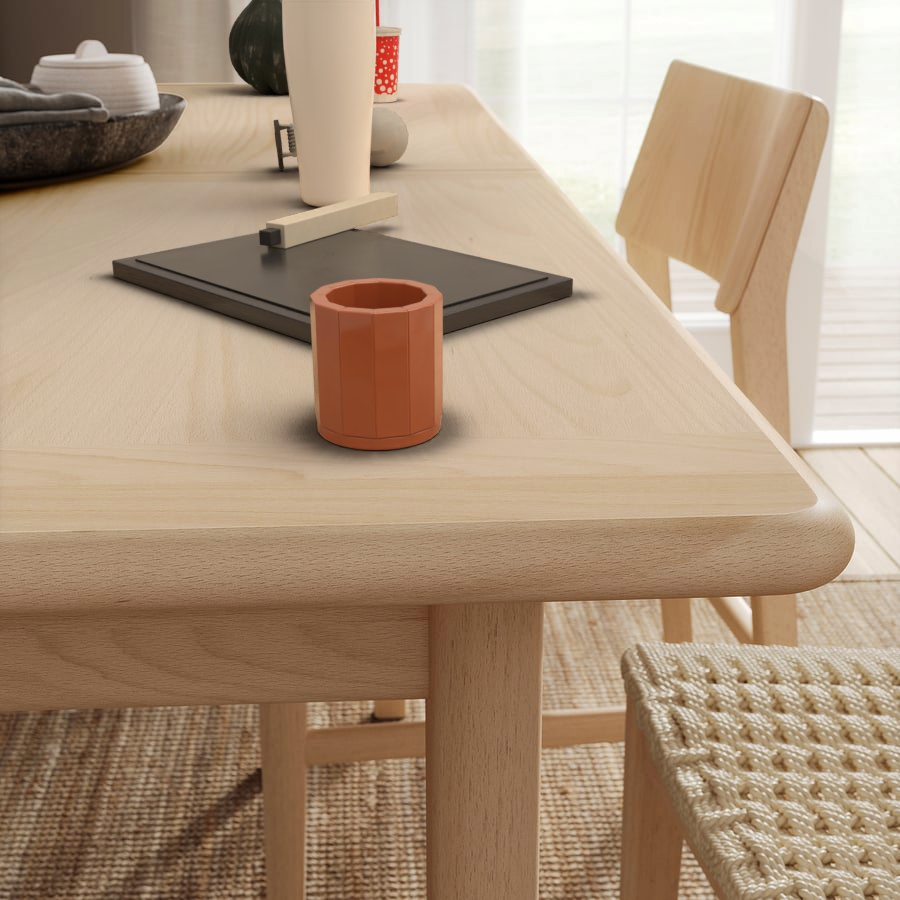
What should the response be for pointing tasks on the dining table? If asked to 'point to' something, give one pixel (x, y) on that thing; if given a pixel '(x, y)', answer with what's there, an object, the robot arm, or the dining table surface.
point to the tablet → (335, 277)
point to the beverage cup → (386, 61)
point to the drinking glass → (331, 94)
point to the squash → (260, 46)
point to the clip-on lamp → (385, 138)
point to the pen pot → (377, 362)
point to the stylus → (328, 220)
